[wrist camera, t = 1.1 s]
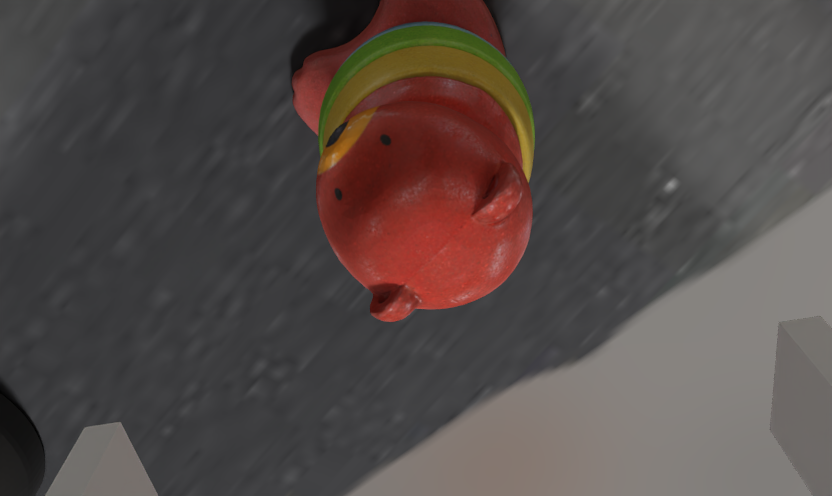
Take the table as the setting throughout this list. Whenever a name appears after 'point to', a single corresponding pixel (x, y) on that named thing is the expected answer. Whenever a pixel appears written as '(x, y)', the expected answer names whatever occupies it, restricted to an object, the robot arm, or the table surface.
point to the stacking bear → (421, 154)
